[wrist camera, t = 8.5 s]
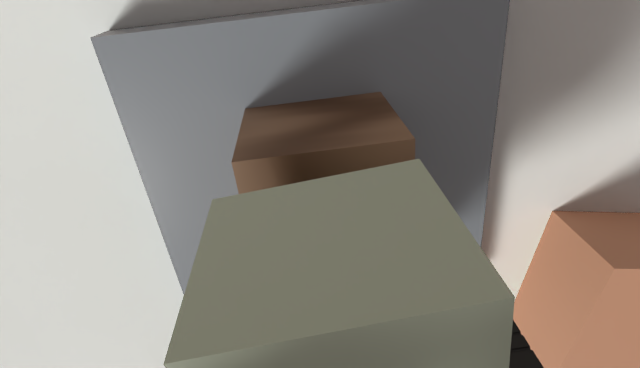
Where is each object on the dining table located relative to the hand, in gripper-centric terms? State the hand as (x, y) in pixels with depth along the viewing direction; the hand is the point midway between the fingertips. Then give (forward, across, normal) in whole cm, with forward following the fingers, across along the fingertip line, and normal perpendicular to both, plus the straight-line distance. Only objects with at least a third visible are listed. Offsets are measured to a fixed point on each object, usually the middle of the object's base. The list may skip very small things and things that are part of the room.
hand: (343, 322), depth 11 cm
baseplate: (+8, 0, 0) cm, 8 cm away
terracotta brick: (+9, -13, +8) cm, 18 cm away
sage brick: (+1, 0, 0) cm, 1 cm away
